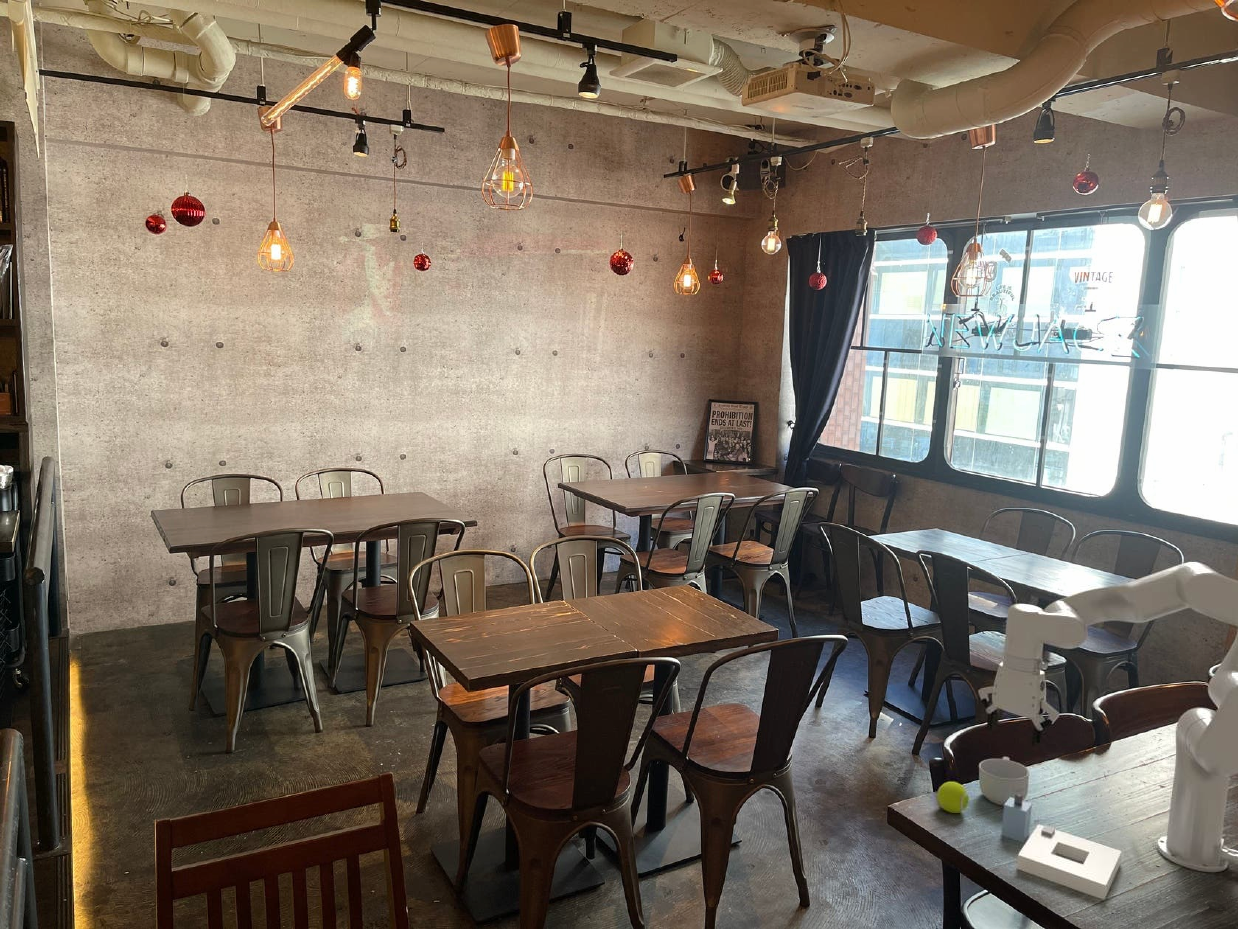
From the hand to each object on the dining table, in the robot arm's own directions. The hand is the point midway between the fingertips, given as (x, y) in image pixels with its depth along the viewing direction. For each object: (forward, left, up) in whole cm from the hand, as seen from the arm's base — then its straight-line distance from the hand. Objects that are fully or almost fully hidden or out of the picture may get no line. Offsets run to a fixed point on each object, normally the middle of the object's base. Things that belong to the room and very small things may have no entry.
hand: (1014, 737), depth 200 cm
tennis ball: (+11, +2, -21) cm, 23 cm away
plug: (-3, +3, -20) cm, 21 cm away
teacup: (+4, -13, -21) cm, 25 cm away
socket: (-15, +9, -20) cm, 27 cm away
